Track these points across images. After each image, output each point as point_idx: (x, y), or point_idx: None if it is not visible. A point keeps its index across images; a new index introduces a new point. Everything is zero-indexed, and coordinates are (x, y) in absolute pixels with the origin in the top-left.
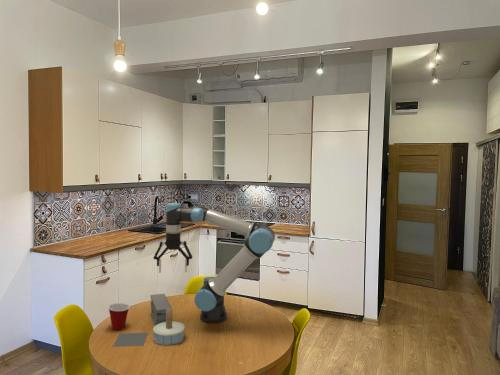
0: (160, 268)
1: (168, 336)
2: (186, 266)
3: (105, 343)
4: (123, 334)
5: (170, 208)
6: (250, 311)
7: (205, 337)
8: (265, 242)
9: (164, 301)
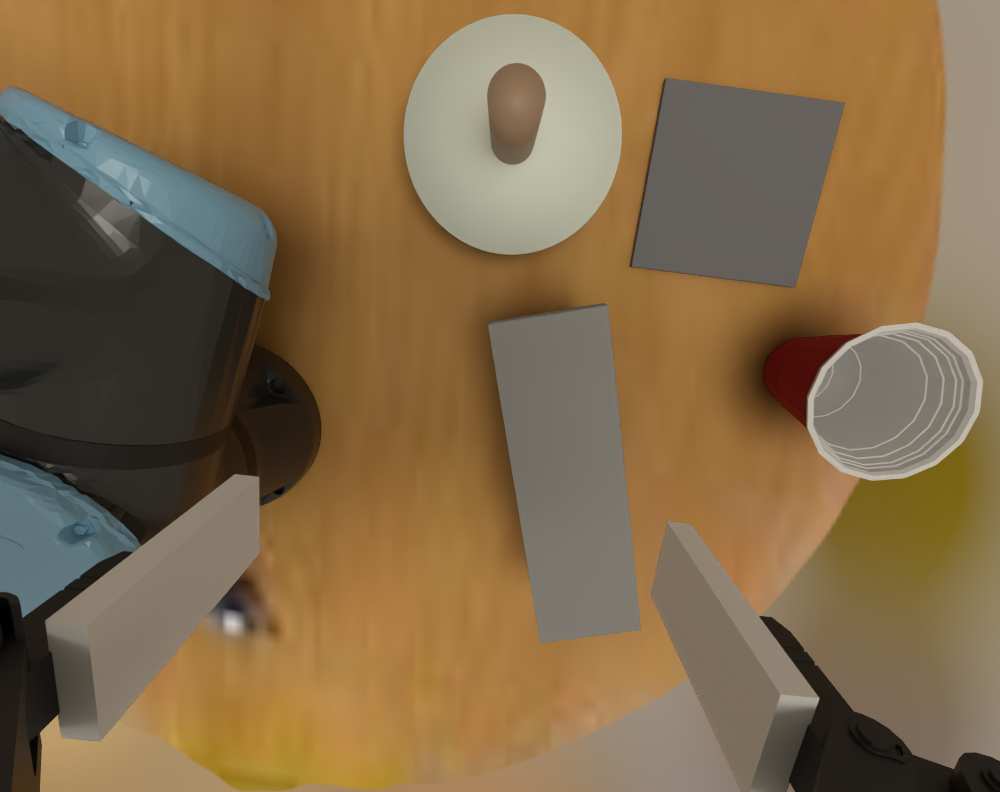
0: (687, 578)
1: None
2: (167, 526)
3: (875, 175)
4: (774, 268)
5: None
6: None
7: (288, 139)
8: None
9: (543, 482)
